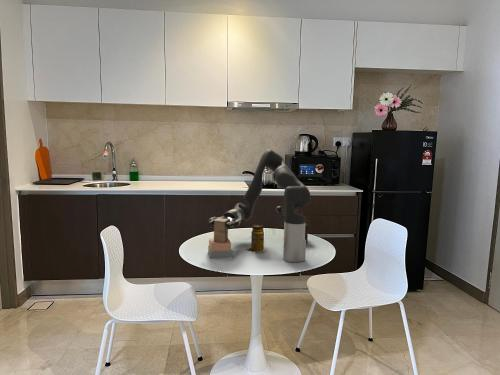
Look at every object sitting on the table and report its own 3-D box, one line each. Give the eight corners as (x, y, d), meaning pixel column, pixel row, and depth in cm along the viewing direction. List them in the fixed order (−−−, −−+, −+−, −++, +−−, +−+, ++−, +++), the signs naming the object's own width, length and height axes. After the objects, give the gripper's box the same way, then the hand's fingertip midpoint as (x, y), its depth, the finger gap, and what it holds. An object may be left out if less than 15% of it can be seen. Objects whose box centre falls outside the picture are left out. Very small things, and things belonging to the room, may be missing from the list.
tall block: (217, 238, 179) (218, 218, 178) (227, 240, 178) (228, 219, 176) (213, 241, 175) (214, 220, 173) (224, 243, 173) (224, 221, 172)
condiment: (267, 250, 184) (267, 226, 183) (252, 253, 180) (253, 228, 178) (258, 246, 191) (259, 223, 189) (244, 249, 186) (244, 225, 184)
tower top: (227, 244, 183) (227, 237, 182) (231, 250, 174) (231, 243, 174) (208, 245, 181) (208, 238, 180) (211, 251, 172) (211, 244, 172)
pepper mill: (301, 237, 210) (302, 204, 207) (308, 242, 199) (309, 209, 196) (274, 237, 207) (275, 205, 205) (278, 243, 196) (280, 209, 194)
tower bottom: (229, 251, 184) (229, 244, 183) (232, 258, 174) (232, 251, 174) (208, 252, 182) (208, 245, 181) (210, 259, 172) (210, 252, 171)
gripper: (218, 209, 190) (204, 215, 175) (245, 211, 185) (233, 218, 170) (218, 223, 191) (204, 231, 176) (245, 226, 187) (233, 234, 171)
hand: (218, 225), depth 173 cm, fingers open, 8 cm apart
